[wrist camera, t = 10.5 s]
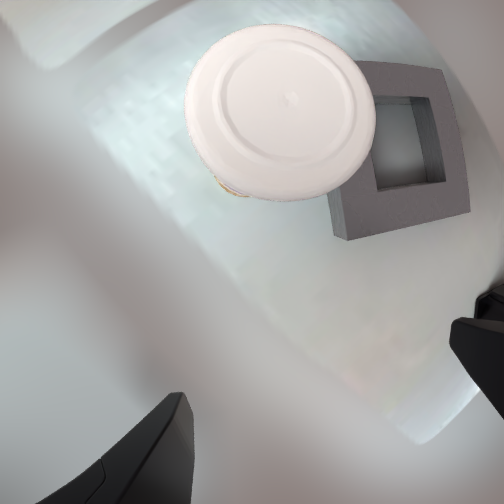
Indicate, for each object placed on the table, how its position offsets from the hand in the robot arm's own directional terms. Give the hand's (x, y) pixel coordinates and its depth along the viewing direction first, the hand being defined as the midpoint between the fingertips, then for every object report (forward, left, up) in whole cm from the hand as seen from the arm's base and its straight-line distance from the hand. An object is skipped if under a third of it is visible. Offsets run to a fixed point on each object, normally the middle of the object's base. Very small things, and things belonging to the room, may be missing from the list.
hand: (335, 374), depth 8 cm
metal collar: (+7, -11, -13) cm, 18 cm away
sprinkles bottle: (+7, 0, -13) cm, 15 cm away
